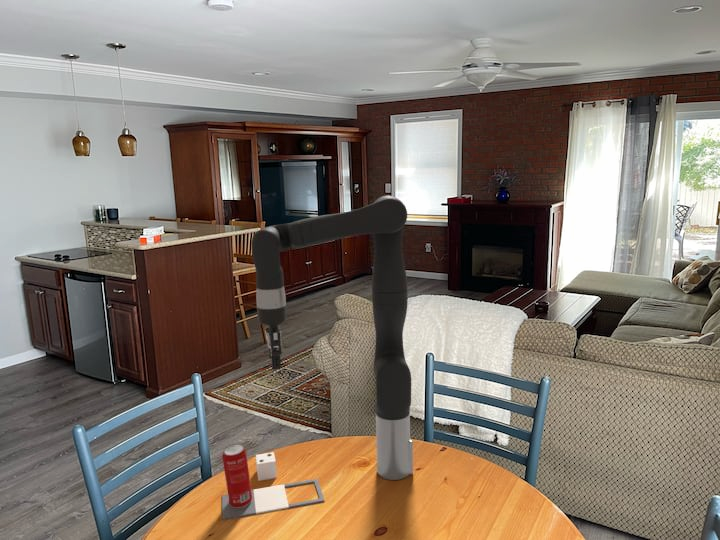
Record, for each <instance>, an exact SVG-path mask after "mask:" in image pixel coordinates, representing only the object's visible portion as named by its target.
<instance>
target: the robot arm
mask: <svg viewBox="0 0 720 540" xmlns="http://www.w3.org/2000/svg"><path fill="white" fill-rule="evenodd" d="M407 219H408V211H407V207H406V205H405V204H404V203H403V201H401V200H400V199H399V198H398V197H395V196H393V195H383V196H380V197H378V198H377V199H376V200H375V201H374V202H373V203H371V204H368V205H366V206H363V207H360V208H358V209H357V208H356V209H354V210H349V211H345V212H338V213H332V214H323V215H317V216H316V215H315V216H311V217H307V218H304V219H303V218H302V219H299V220H295V221H293V222H290V223H283V224H282V223H281V224H274V225H269V226H265V227H263V228H261V229H259V230H258V231H256V232H255V233H254V234H253V236H252V239H251V254H252V259H253V264H254V268H255V281H256V282H255V283H256V293H255V295H256V296H255V297H256V300H255V301H256V311H257V314H256V315H257V322H258V324H260V325H263V326H265V327H264V333H265V341H267V342H266V343H267V348H268V357H269V359H270V360H271V368H272V370H274V371H276V370H280V369H281V368H282V361H281V355H282V354H283V351H282V344H283V343H282V329H281V327H280V326H279V325H280V324H284V323H285V322H286V321H287V318H288V315H287V300H286V299H287V297H286V296H287V295H286V290H285V281H284V280H285V279H284V270H283V267H282V266H281V257H280V256H281V255H280V252H282V251H286V250H290V249H294V248H295V249H304V248H307V247H308V248H309V247H312V246H316V245H321V244H325V243H329V242H333V241H337V240H340V239H344V238H349V237H350V238H351V237H355V236H361V235H373V245H374V253H373V266H372V275H371V276H372V278H371V280H372V281H371V293H372V294H371V296H372V297H371V299H372V301H371V302H372V314H373V315H372V316H373V322H374V328H375V329H374V330H375V345H374V346H375V348H374V360H373V375H374V377H375V386H376V389H375V390H376V391H375V392H376V402H375V406H374V407H375V434H376V435H375V437H376V439H375V441H376V442H375V443H376V473H377V474H378V476H380V477H381V478H382V479H385V480H390V481H398V480H402V479H405V478H407V477H408V476H410V475H413V474H414V454H413V453H414V446H413V445H414V444H413V443H414V442H413V440H412V439H411V417H410V415H411V411H410V410H411V406H412V405H411V404H412V375H411V373H412V372H411V369H410V368H409V365H408V363H407V362H406V361H407V360H406V358H405V350H404V341H403V340H404V338H403V337H404V336H403V333H404V328H405V327H404V326H405V322H406V319H407V318H406V317H407V312H408V279H407V272H406V265H405V259H404V252H403V236H404V226H405V224H406V223H407Z"/></svg>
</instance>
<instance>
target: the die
mask: <svg viewBox="0 0 720 540" xmlns="http://www.w3.org/2000/svg"><path fill="white" fill-rule="evenodd" d="M255 462H256V463H255V465H256V466H255V467H256V475H257V480H258V482H259V481H260V482H261V481H264V480H265V481H266V480H272V479H277V460H276V457H275V452H274V451H271V452H266V453H265V452H264V453H260V454H259V453H258V454H255Z"/></svg>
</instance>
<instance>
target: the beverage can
mask: <svg viewBox="0 0 720 540" xmlns="http://www.w3.org/2000/svg"><path fill="white" fill-rule="evenodd" d="M247 456H248V455H247V451H246V449H245V446H244V445H243V444H241V443H231V444H229V445H227V446H225V447H224V448H223V450H222V456H221V457H222V463H223V469H224V470H223V471H224V477H225V482H226V492H227V494H228V499H229V504H230V505H231V506H232V507H234V508H242V507H245V506H247V505H248V504H249V503H250V502H251V500H252V493H251V490H252V488H251V487H252V486H251V478H250V472H249V465H248V464H249V463H248V457H247Z"/></svg>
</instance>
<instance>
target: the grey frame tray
mask: <svg viewBox="0 0 720 540" xmlns="http://www.w3.org/2000/svg"><path fill="white" fill-rule="evenodd" d="M309 484H314V485H315V489H316V492H317V496H318V498H317V499H310V500H304V501H299V502H294V503H293V502H292V503H289V501H288V497H287V492H286V488H292V487H298V486H303V485H309ZM251 493H252V500H251V502H250V503H249V504H248V505H247V506H245V507H242V508H234V507H232V506H231V505H230V504H229V499H228V493H225V494H221V508H222V509H221V510H222V511H221V514H222V515H221V518H222V521H224V520H225V521H226V520H231V519H236V518H242V517H247V516H253V515H258V514H264V513H270V512H273V511H274V512H275V511H280V510H284V509H285V510H286V509H291V508H296V507H302V506H303V507H304V506H306V505H313V504H317V503H324V502H325V497H324V494H323V491H322V488H321V486H320V483H319V479H318V478H313V479H308V480H302V481H296V482H290V483H289V482H288V483H284V484H278V485H272V486H267V487H261V488H256V489H254V488H253V489H251Z"/></svg>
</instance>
